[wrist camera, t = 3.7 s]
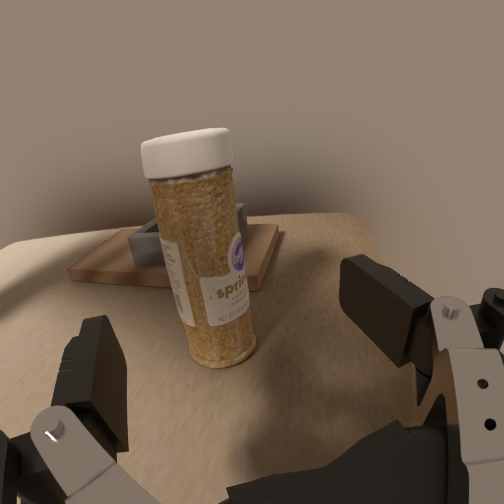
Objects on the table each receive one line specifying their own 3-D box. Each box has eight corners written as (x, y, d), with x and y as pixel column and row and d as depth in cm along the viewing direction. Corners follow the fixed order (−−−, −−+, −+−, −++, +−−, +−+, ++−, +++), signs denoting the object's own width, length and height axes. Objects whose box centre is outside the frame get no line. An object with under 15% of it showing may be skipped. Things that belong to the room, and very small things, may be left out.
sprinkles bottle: (257, 369, 18) (226, 126, 12) (184, 372, 18) (124, 144, 12) (256, 323, 22) (232, 124, 16) (194, 327, 22) (154, 137, 16)
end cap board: (71, 280, 31) (59, 244, 29) (124, 239, 41) (117, 209, 40) (258, 291, 26) (253, 241, 24) (278, 236, 36) (275, 198, 34)
